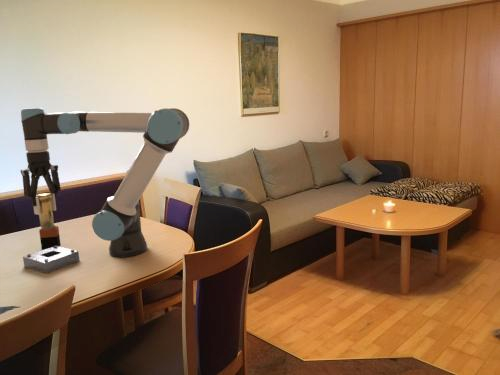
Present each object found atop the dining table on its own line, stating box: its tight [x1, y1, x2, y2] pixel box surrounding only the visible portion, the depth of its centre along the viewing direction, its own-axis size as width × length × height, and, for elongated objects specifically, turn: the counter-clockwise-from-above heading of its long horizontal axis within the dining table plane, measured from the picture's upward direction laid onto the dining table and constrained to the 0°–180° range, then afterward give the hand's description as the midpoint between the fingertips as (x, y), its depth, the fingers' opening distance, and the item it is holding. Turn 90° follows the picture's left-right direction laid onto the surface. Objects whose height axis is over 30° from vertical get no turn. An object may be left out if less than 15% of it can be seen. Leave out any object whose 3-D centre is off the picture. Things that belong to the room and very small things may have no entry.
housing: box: [22, 245, 80, 274], centre depth 163 cm, size 14×14×5 cm
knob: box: [36, 192, 55, 228], centre depth 160 cm, size 6×6×12 cm
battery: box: [38, 224, 62, 251], centre depth 181 cm, size 4×7×10 cm, turn 101°
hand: (45, 212), depth 160 cm, fingers closed on knob, 6 cm apart
